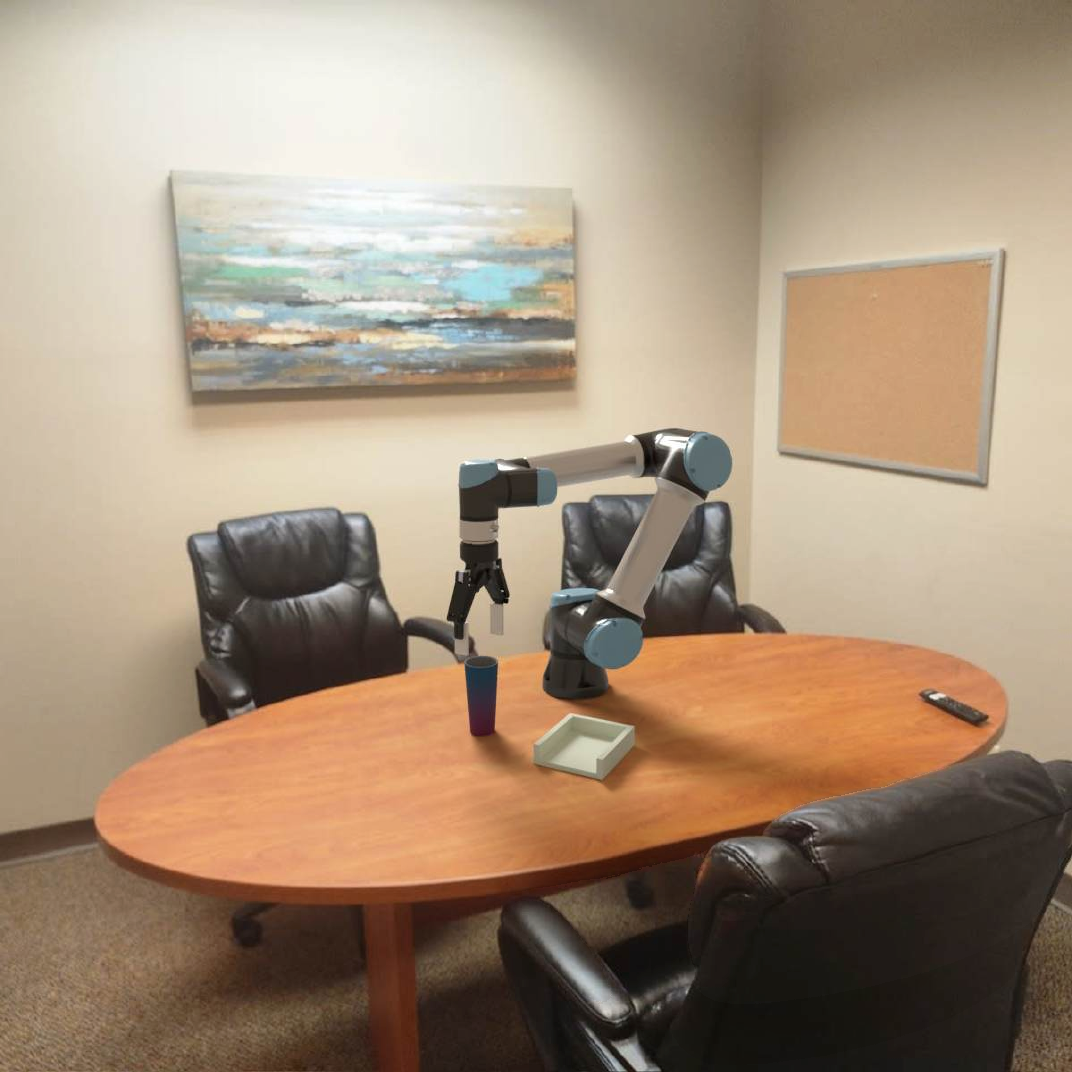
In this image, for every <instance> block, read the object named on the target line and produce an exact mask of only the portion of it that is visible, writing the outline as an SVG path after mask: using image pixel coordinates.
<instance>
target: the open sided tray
mask: <svg viewBox="0 0 1072 1072" xmlns="http://www.w3.org/2000/svg"><path fill="white" fill-rule="evenodd" d="M635 729H636V727H635V726H634V725H631V724H625V723H620V722H616V721H611V720H606V719H601V718H596V717H591V716H587V715H582V714H577V713H572V712H570V713H568V714H567V715H566V716H565V717H563V718H562V719H561V720H560V721H559V722H557V723H556V724H555V725H554V726H553V727H552V728H550V730H548V731H547V732H546V733H545V734H544V735H543V736H541V737H540V738H538V740H536V742H534V743H533V764H534V765H537V766H543V767H546V768H549V769H550V768H551V769H554V770H559V771H561V772H562V771H564V772H567V773H571V774H575V775H579V776H584V777H588V778H592V779H597V780H600V781H603V780H604V779H605V777H606V776H607V775H609V773H610V772H611V771H612V770H614V768H615V767H616V766H617V765H618V763H620V761H621V760H622V759H623V758H624V757H625V756H626V755H627V754H628V752H630V750H631V749H633V747H635V737H636V736H635V733H636V732H635V731H636V730H635Z"/></svg>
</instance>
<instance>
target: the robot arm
mask: <svg viewBox="0 0 1072 1072" xmlns="http://www.w3.org/2000/svg"><path fill="white" fill-rule="evenodd" d="M732 470H733V457H732V455H731V450H730V448H729V446H728V444H727V443H726V441H725V440H723V439H722V437H720V436H718V435H715V434H711V433H709V432H708V431H701V430H700V431H696V430H692V429H691V430H690V429H683V428H677V427H670V428H663V429H658V430H652V431H648V432H644V433H643V432H642V433H639V434H634V435H628V436H626V437H625V438H624V439H623V441H618V442H612V443H605V444H601V445H593V446H592V445H591V446H589V447H588V446H586V447H580V448H575V449H574V448H573V449H568V450H562V451H555V452H549V453H544V454H538V455H530V456H525V457H520V458H519V457H518V458H512V459H502V458H493V459H470V460H469V459H468V460H465V461H463V462H462V463H460V465H459V472H458V473H459V474H458V483H457V484H458V497H459V498H458V500H459V502H458V503H459V532H458V533H459V534H458V535H459V537H458V538H459V539H460V540H461V541H460V542H459V558H460V560H461V561H462V562H464V564H465V568H464V570H459V569H457V570H456V571H455V574H454V575H455V579H454V586H453V590H452V594H451V598H450V600H449V601H450V602H449V606H448V611H447V613H446V614H447V615H446V622H450V623H453V633H454V634H453V637H454V654H457V655H462V656H466V657H467V656H468V655H469V654H470V653H469V651H470V648H469V647H470V646H469V644H470V643H469V642H470V641H469V622H468V621H467V618H468V616H469V613H470V611H471V608H472V606H473V603H474V599H475V597H476V594H478V593H479V592H480V590H481V589H482V588H483V587H484V588H485V591H486V592H487V594H488V595H489V597H490V599H491V600H492V602H491V603H489V606H490V607H489V608H490V609H489V617H490V619H489V621H490V623H489V624H490V625H489V626H490V627H489V629H490V630H489V631H490V634H491V635H495V636H500V637H502V636H504V635H505V634H504V604H507V605H508V604H509V601H510V600H509V598H510V597H511V595H510V590H509V587H508V583H507V579H506V576H505V573H504V570H503V563H502V562H503V561H502V559H503V558H500V557H499V541H498V540H497V539H498V538H499V529H500V526H499V510H500V509H512V508H528V507H529V508H530V507H537V508H540V507H541V506H543V507H544V506H548V505H552V504H553V503H554V502H555V500H556V499H557V496H558V488H562V487H568V486H572V485H579V484H585V483H589V482H590V483H591V482H596V481H601V480H607V479H614V478H620V477H625V476H629V477H630V478H632V479H641V478H654V481H655V484H656V492H655V494H654V495H653V498H652V499H651V502H650V503H649V505H648V507H647V509H646V511H645V513H644V515H643V517H642V518H641V520H640V523H639V524H638V527H637V529H636V531H635V533H634V535H633V536H632V539H631V540H630V542H629V545H628V546H627V548H626V550H625V552H624V554H623V556H622V558H621V560H620V562H619V564H618V565H617V568H616V570H615V572H614V573H613V575H612V578H611V580H610V581H609V583H608V585H607V587H606V588H605V589H603V590H599V589H597V588H591V587H589V588H587V587H579V588H577V587H576V588H575V587H573V588H566V589H560V590H557V591H555V592H553V593H552V594H551V596H550V602H549V605H550V606H549V607H548V608H549V622H550V623H549V626H550V627H549V633H550V634H549V637H550V638H549V641H550V643H549V651H550V652H549V653H550V655H549V658H548V661H547V663H546V666H545V668H544V672H543V676H542V689H543V691H544V692H546V693H547V694H548V695H550V696H554V697H557V698H559V699H566V700H567V699H569V700H587V699H593V698H596V697H599V696H602V695H604V694H605V693H607V692H608V690H609V677H608V673H607V670H618V669H621V668H623V667H627V666H629V665H630V664H631V663H632V662H634V661H635V660H636V658H638V656H639V655H640V653H641V651H642V648H643V644H644V638H643V631H642V628H641V627H642V625H643V623H644V621H645V619H646V615H645V610H644V606H645V604H646V602H647V600H648V599H649V598H648V597H649V596H650V594H651V592H652V590H653V588H654V586H655V584H656V582H657V580H658V578H659V576H660V575H661V572H662V571H663V568H664V566H665V564H666V562H667V561H668V559H669V557H670V555H671V552H672V550H673V548H674V546H675V545H676V543H677V540H678V539H679V538H680V535H681V533H682V531H683V529H684V527H685V526H686V524H687V522H688V519H689V517H690V516H691V513H692V512H693V509H694V508H695V507H697V506H700V505H703V504H704V503H705V502H706V500H707V498H708V496H709V494H710V493H711V492H713V491H716V490H717V489H719V488H722V487H723V486H724V485H725V484H726V483H727V481H728V480H729V479H730V476H731V473H732Z"/></svg>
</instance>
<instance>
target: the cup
mask: <svg viewBox="0 0 1072 1072" xmlns="http://www.w3.org/2000/svg"><path fill="white" fill-rule="evenodd" d="M463 663H464V674H465V675H464V677H465V686H466V699H467V708H468V709H467V711H468V720H469V723H468V725H469V732H470V734H471V735H473V736H477V737H488V736H491V735H492V734H494V733H495V732H496V731H495V726H496V715H497V714H496V713H497V712H496V711H497V709H496V708H497V707H496V706H497V694H498V693H497V692H498V691H497V689H498V675H499V674H498V673H499V671H498V670H499V659H498V658H496V657H494V656H489V655H474V656H470V657H467V658H466V659H465V660H464V662H463Z"/></svg>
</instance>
